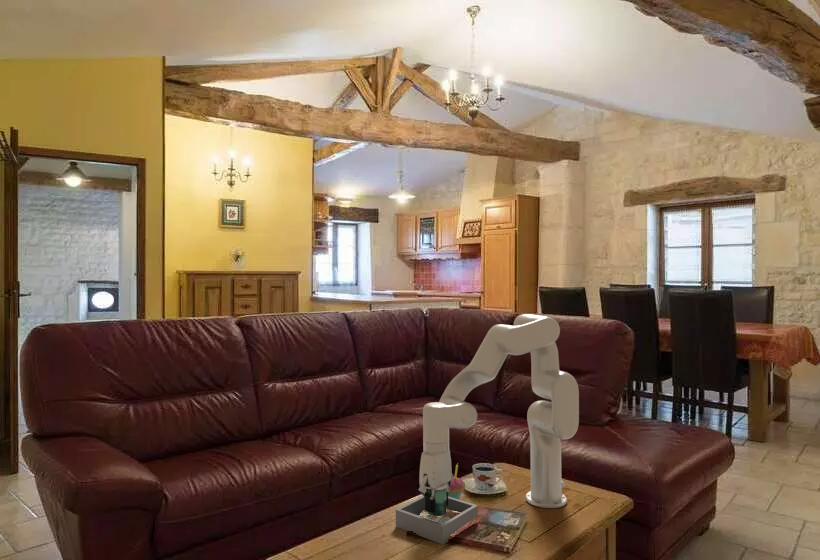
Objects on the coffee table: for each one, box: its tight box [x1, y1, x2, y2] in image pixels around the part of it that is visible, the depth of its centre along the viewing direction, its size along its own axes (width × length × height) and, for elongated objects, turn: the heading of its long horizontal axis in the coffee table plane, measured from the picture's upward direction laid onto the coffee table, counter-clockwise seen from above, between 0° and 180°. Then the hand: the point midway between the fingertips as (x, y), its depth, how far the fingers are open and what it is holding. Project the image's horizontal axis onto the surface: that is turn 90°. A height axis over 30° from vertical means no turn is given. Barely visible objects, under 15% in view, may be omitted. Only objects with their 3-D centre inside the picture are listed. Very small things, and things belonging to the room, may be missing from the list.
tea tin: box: [428, 484, 447, 516], centre depth 163 cm, size 6×6×8 cm
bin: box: [395, 495, 479, 546], centre depth 164 cm, size 17×17×5 cm
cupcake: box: [448, 462, 466, 500], centre depth 181 cm, size 9×8×12 cm
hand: (436, 507), depth 164 cm, fingers closed on tea tin, 5 cm apart
